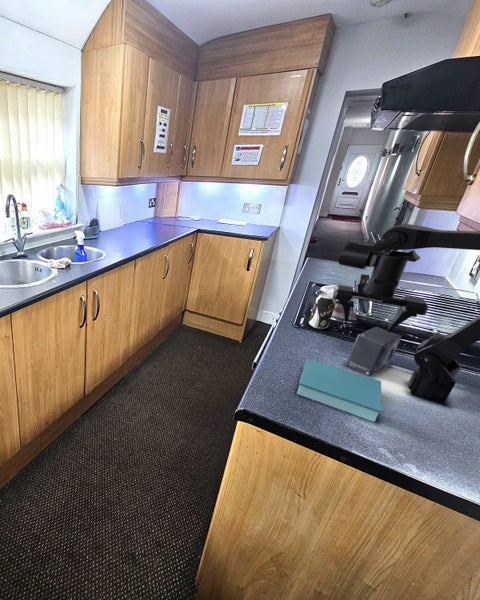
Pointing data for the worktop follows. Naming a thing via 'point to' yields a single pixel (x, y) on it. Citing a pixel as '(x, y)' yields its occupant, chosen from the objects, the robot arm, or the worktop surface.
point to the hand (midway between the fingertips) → (366, 327)
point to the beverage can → (322, 311)
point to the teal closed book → (341, 389)
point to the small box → (373, 350)
